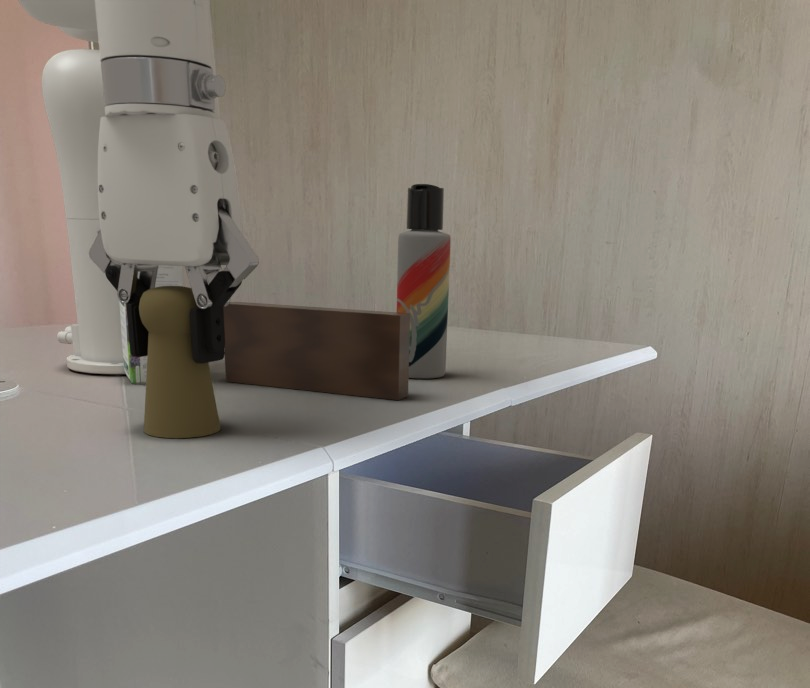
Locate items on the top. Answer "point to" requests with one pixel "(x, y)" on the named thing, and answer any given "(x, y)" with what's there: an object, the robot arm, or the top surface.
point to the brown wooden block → (318, 349)
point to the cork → (175, 369)
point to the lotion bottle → (425, 280)
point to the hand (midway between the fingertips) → (177, 355)
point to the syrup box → (132, 365)
